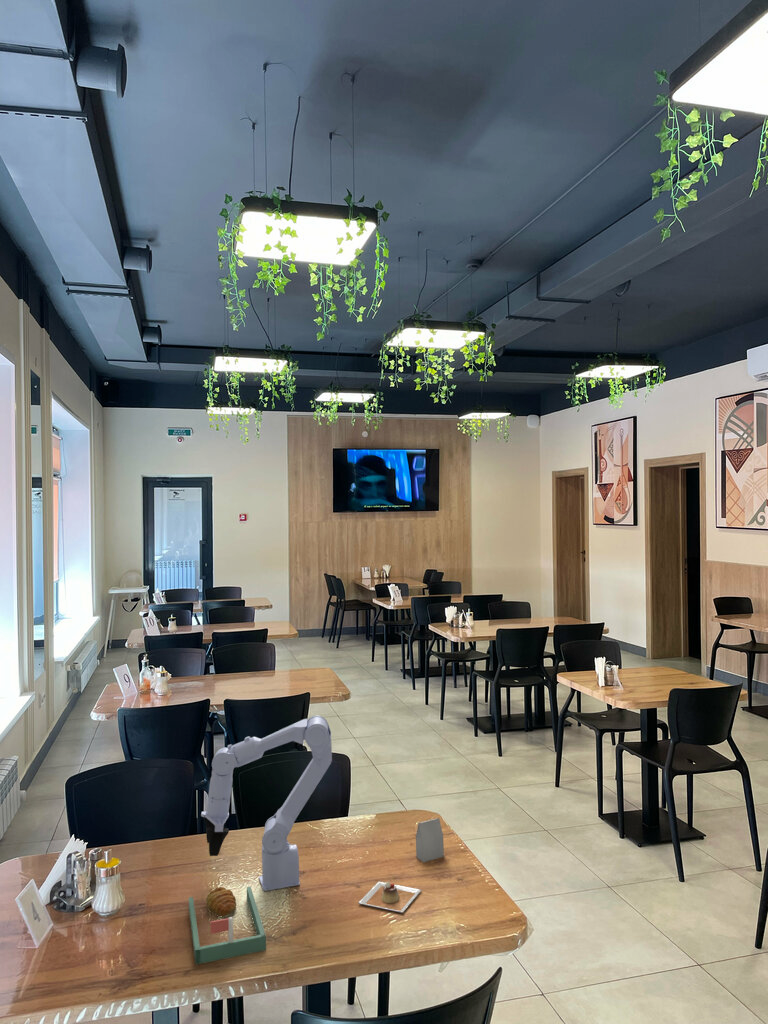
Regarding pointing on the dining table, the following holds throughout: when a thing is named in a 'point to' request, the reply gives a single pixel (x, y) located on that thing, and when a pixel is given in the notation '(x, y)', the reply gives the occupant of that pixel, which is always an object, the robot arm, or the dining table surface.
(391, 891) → the dessert
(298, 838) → the dining table surface
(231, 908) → the pastry
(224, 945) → the putting corral
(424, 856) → the grey tall block
